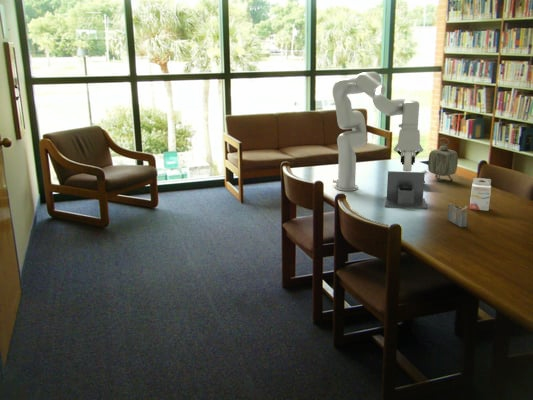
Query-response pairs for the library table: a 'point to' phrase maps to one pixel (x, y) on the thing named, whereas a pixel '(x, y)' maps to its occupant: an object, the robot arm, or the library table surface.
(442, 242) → the library table surface
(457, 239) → the library table surface
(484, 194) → the ink cartridge box
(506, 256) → the library table surface
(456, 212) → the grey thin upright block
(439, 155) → the tabletop clock
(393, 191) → the cup bracket
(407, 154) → the off-white rounded cylinder
